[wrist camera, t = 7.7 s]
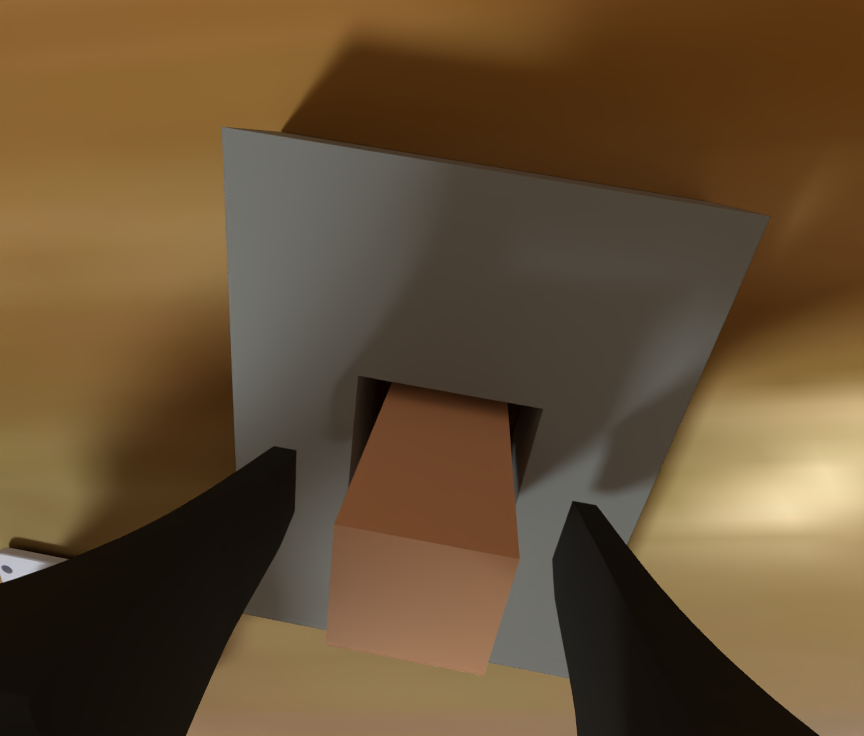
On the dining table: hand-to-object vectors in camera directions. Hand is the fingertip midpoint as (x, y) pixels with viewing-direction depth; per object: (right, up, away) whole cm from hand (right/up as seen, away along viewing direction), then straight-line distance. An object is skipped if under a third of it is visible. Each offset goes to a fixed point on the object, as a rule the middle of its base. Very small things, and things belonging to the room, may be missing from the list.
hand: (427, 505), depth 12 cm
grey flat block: (+1, +2, +4) cm, 5 cm away
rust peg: (+1, +2, +4) cm, 5 cm away
